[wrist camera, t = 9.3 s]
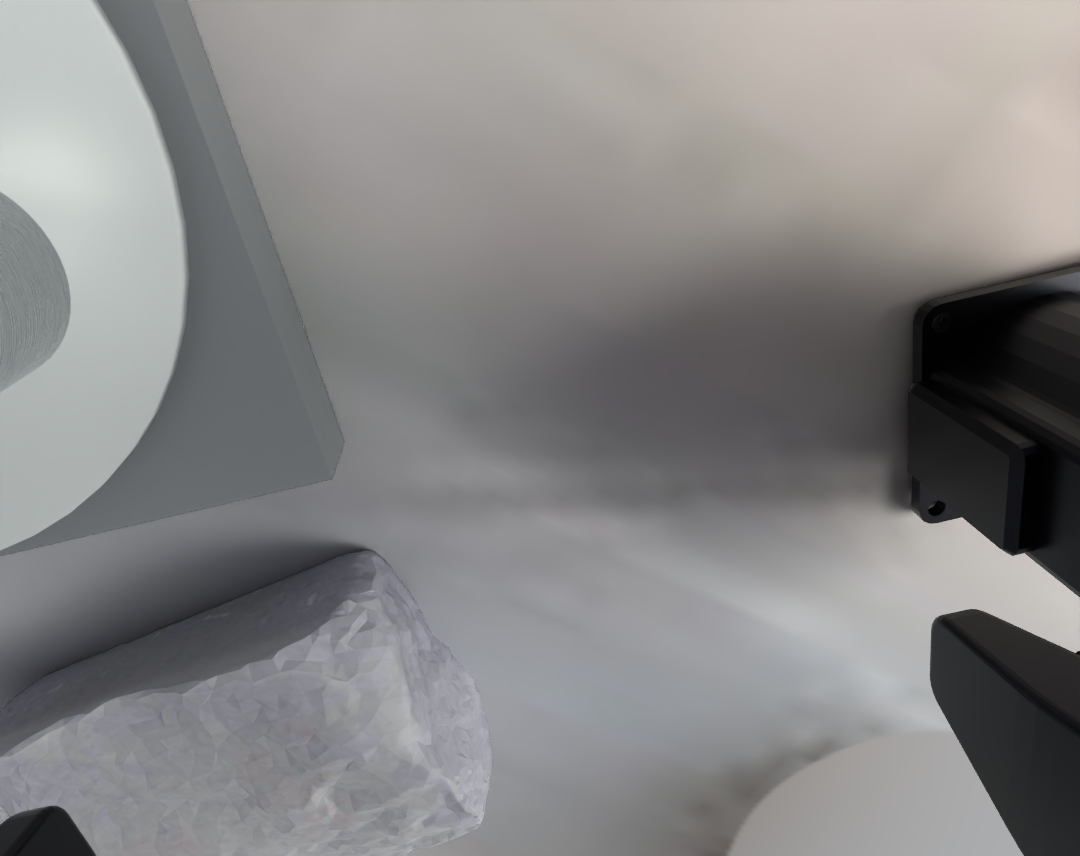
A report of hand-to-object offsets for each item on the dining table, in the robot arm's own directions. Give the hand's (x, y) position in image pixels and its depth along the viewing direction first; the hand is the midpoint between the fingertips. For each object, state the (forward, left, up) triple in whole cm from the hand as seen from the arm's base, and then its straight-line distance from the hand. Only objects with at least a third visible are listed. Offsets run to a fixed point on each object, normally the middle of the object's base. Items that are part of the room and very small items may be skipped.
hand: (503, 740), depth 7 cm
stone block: (+8, +10, -12) cm, 18 cm away
